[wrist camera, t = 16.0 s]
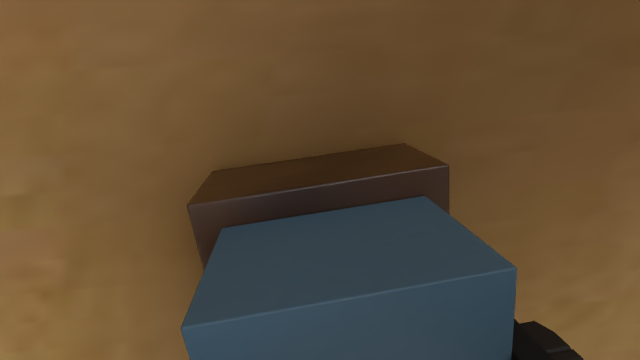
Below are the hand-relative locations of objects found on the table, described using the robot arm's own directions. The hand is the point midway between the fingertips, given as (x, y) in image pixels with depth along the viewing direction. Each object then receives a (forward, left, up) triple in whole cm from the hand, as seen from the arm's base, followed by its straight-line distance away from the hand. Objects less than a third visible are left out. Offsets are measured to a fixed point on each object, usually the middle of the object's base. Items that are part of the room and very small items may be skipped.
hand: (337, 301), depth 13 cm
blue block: (0, 0, 0) cm, 0 cm away
